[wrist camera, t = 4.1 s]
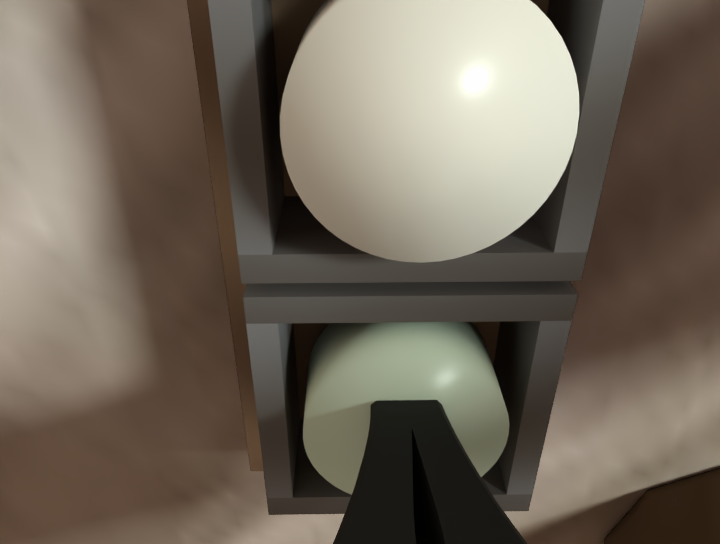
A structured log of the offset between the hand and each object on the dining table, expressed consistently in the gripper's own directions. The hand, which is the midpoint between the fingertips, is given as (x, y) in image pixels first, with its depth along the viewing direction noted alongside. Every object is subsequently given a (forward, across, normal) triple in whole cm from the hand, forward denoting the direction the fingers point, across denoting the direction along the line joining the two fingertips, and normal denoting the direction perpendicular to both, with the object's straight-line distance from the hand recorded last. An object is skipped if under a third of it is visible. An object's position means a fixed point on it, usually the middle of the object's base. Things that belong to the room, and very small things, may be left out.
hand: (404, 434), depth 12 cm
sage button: (+2, 0, 0) cm, 2 cm away
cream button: (+1, 0, -6) cm, 7 cm away
